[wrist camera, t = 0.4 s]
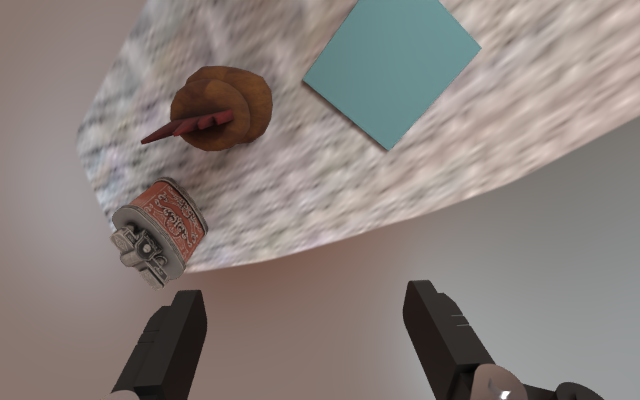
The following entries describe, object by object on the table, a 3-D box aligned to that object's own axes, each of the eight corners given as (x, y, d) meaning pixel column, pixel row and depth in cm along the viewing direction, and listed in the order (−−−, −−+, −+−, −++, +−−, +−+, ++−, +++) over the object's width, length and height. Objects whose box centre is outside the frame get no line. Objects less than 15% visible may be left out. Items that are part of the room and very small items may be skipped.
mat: (392, -47, 24) (393, -49, 24) (479, 48, 27) (481, 48, 27) (302, 79, 28) (302, 79, 28) (387, 150, 31) (388, 151, 31)
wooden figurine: (205, 122, 30) (113, 177, 16) (206, 59, 27) (100, 59, 14) (273, 135, 30) (241, 197, 17) (281, 73, 28) (250, 89, 14)
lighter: (146, 184, 32) (81, 233, 23) (172, 171, 32) (116, 216, 23) (190, 241, 35) (148, 304, 26) (215, 231, 35) (180, 291, 26)
